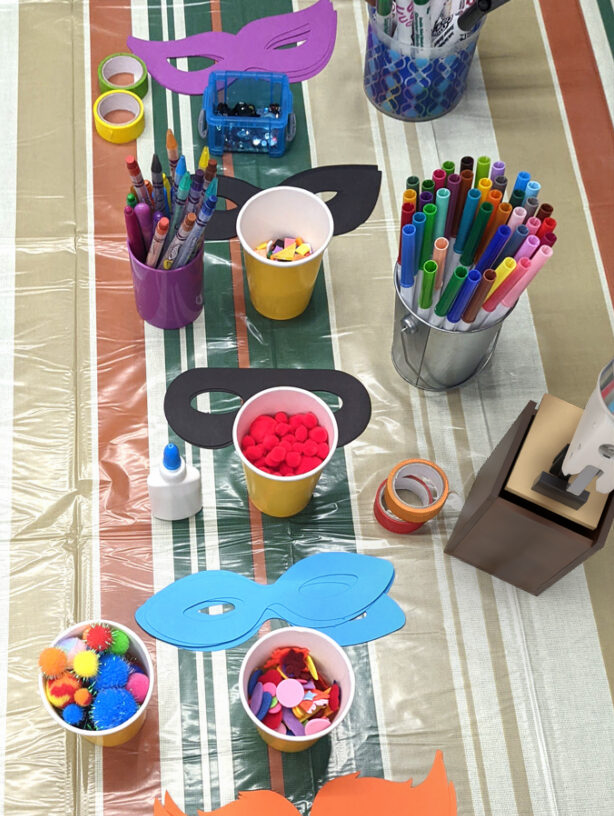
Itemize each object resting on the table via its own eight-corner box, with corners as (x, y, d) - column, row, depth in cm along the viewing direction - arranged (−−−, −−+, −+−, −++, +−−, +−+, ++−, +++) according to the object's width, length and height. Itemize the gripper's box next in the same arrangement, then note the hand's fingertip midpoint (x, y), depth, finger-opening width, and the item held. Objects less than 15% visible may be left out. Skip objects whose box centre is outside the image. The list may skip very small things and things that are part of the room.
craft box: (569, 511, 109) (639, 448, 91) (536, 596, 104) (603, 547, 87) (479, 470, 110) (530, 399, 92) (443, 552, 106) (489, 494, 88)
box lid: (628, 434, 93) (643, 420, 90) (593, 530, 88) (606, 519, 85) (543, 395, 94) (554, 381, 91) (503, 489, 90) (514, 476, 87)
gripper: (667, 481, 69) (576, 552, 86) (717, 335, 74) (622, 429, 91) (576, 439, 70) (504, 518, 87) (633, 299, 75) (554, 398, 92)
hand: (565, 472), depth 89 cm, fingers closed
